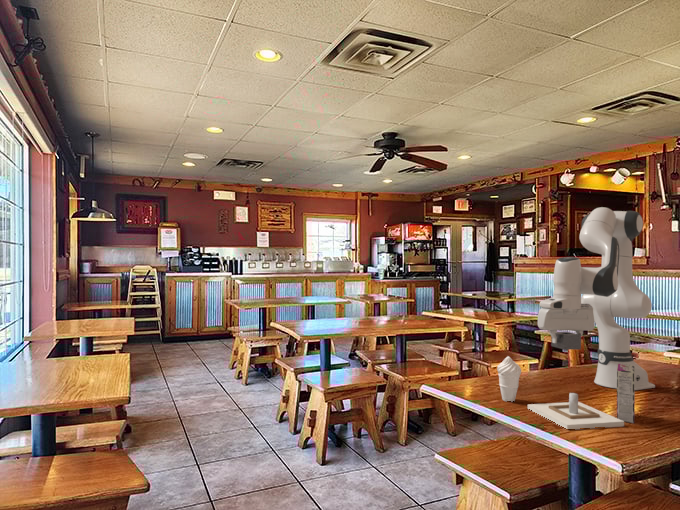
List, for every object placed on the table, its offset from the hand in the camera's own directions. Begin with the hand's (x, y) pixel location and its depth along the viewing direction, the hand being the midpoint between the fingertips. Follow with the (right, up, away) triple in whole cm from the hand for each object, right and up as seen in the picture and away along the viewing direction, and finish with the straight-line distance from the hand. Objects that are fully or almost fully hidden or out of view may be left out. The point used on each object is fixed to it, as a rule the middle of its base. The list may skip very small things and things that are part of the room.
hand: (565, 343), depth 163 cm
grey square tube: (0, -2, 0) cm, 2 cm away
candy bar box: (+15, -23, -10) cm, 29 cm away
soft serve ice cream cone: (-17, -22, +7) cm, 29 cm away
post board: (-3, -22, -10) cm, 25 cm away
